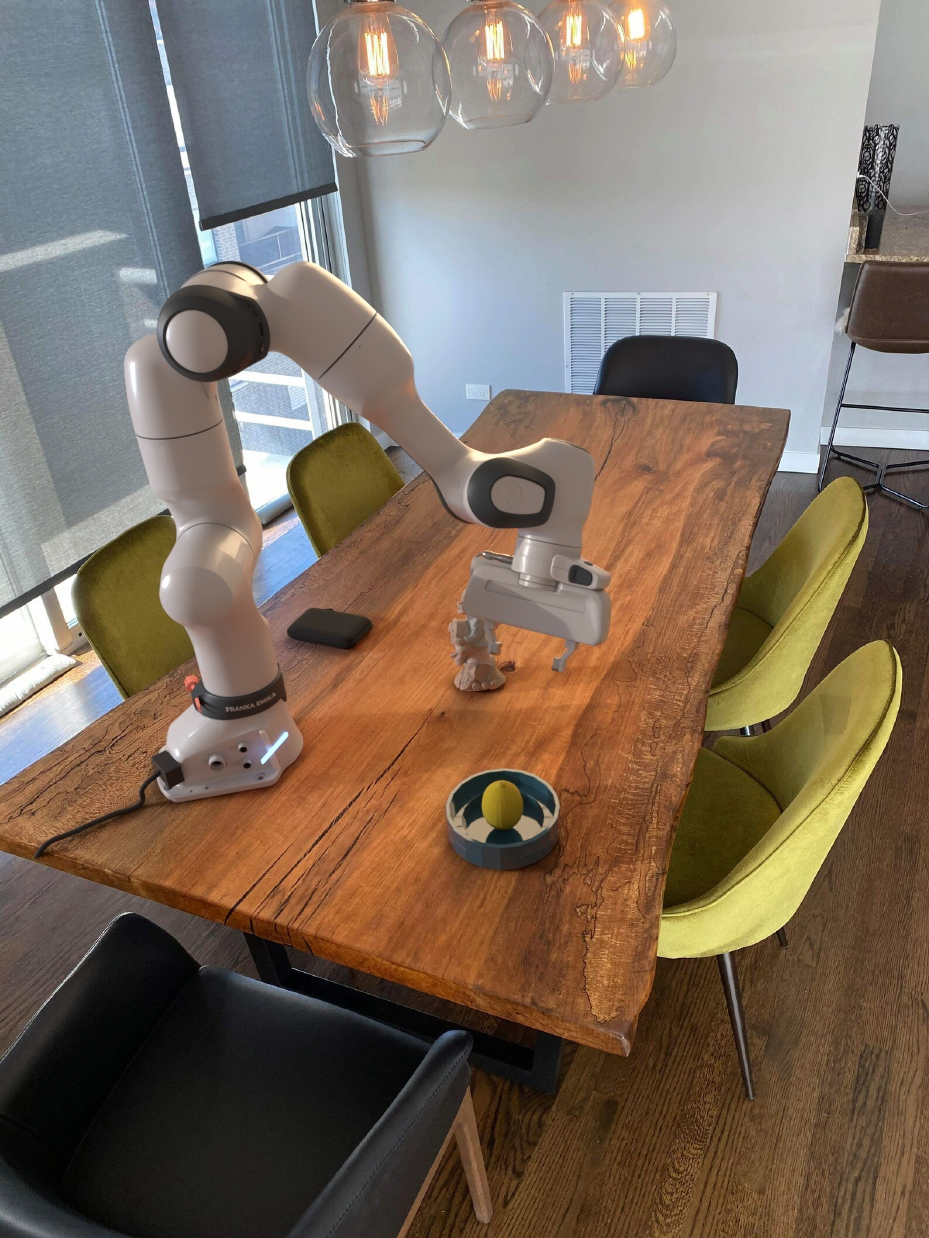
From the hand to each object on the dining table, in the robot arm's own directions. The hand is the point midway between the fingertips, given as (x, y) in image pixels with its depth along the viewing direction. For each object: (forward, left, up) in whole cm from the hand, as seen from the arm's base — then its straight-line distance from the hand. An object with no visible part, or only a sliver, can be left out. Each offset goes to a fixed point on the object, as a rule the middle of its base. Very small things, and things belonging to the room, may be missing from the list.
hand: (525, 662), depth 124 cm
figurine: (+3, +25, -20) cm, 32 cm away
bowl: (-8, -9, -19) cm, 23 cm away
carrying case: (-15, +52, -20) cm, 57 cm away
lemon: (-8, -9, -19) cm, 23 cm away
